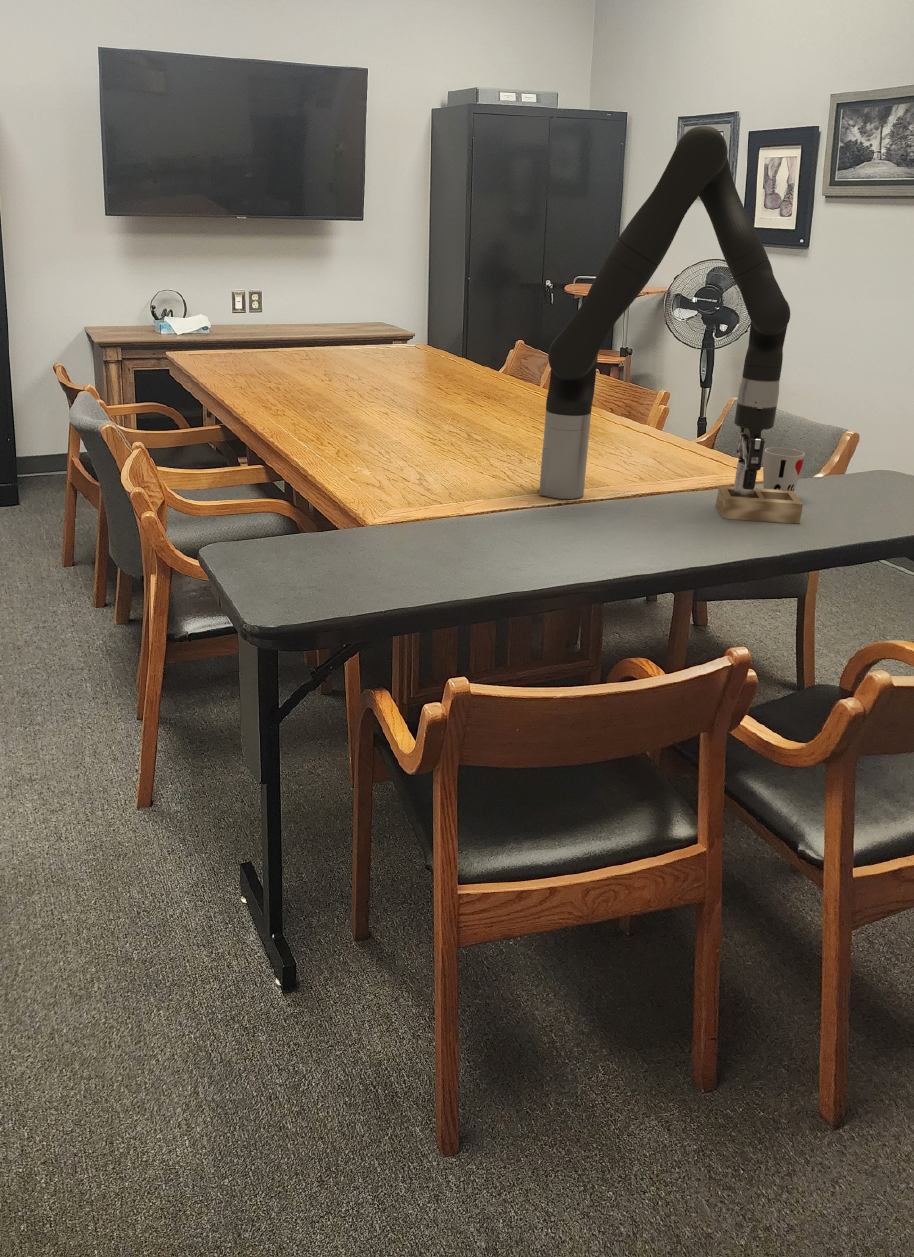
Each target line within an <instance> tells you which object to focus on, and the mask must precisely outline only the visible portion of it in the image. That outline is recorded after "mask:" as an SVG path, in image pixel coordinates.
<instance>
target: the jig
mask: <svg viewBox="0 0 914 1257" xmlns="http://www.w3.org/2000/svg"><path fill="white" fill-rule="evenodd" d="M733 490H734V486H727V485H718V489H717V496H716V505H715V506H716V507H717V510H718V511H719V514H720V516H721V519H724V520H725V519H728V520H740V521H741V520H742V521H755V522H769V523H781V524H782V523H785V524H797V525H799V524H800V523H801V517H802V511H803V505H804V503H803V502H802V501H801V499H800V497H799V496H798V495H797V494H796V492H795V490H794V491H788V490H773V489H764V488H756V487H755V489H754V495H753V498H748V497H733Z"/></svg>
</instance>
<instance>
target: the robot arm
mask: <svg viewBox="0 0 914 1257" xmlns="http://www.w3.org/2000/svg"><path fill="white" fill-rule="evenodd" d="M728 151H729V150H728V145H727V142H726V139H725V138H724V136H723V134H722V133H721V132H720V131H719V130H718V129H717V128H715V127H713V126H708V125H698V126H695V127H692V128H690V129H688V130H687V131H686V132H685V133H684V134H683V135H682V136H681V137H680V139H679V140H678V141H677V144H676V147H675V148H674V151H673V153H672V155H671V157H670V159H669V161H668V163H667V165H666V167H665V169H664V170H663V172H662V175H661V177H660V178H659V181H658V182H657V184H656V185H655V187H654V189H653V191H652V192H651V193H650V195H649V196H648V198H647V199H646V200H645V201H644V203H643V204H642V205H641V206H640V208H639V209H638V210H637V212H635V214H634V216H633V217H632V218H631V219H630V221H629V222H628V224H627V225H626V227H625V228H624V229H623V231H621V234H620V236H618V238H617V239H616V242H615V243H614V245H613V246H612V248H611V249H610V251H609V253H608V254H607V256H606V257H605V259H604V261H603V263H602V265H601V267H600V268H599V270H598V271H597V274H596V276H595V278H594V279H593V282H592V284H591V285H590V288H589V290H588V292H587V294H586V296H585V298H584V300H583V302H582V303H581V305H580V307H579V308H578V310H576V313H575V314H574V315H573V316H572V318H571V319H570V321H569V322H567V324H566V325H565V327H564V328H563V329H562V331H561V332H560V333H559V334H558V336H556V337H555V339H554V340H553V341H552V343H551V344H550V347H549V349H548V356H547V357H548V364H549V367H550V376H549V377H550V378H549V384H548V390H547V396H546V400H545V401H546V403H545V417H544V431H543V443H542V453H541V454H542V455H541V466H540V477H539V478H540V479H539V480H540V481H539V493H538V496H543V497H548V498H553V499H561V500H572V499H574V500H575V499H579V498H582V497H583V496H584V492H585V486H586V485H585V484H586V483H585V482H586V472H587V461H588V449H589V440H590V428H591V418H592V417H591V416H592V409H593V408H592V407H593V401H594V396H595V389H596V377H597V370H598V369H597V368H598V356H599V352H600V350H601V348H602V346H603V343H604V342H605V341H606V339H607V337H608V335H609V333H610V331H611V330H612V328H613V326H615V324H616V322H617V321H618V320H619V319H620V317H621V316H622V315H623V314H624V313H625V311H627V309H628V308H630V306H631V304H633V302H634V301H636V299H637V297H638V296H639V295H640V293H641V292H642V291H643V290H644V289H645V287H646V285H647V284H648V282H649V281H650V280H651V279H652V277H653V275H654V274H655V272H656V270H657V269H658V268H659V266H660V264H661V263H662V262H663V260H664V257H665V256H666V254H667V252H668V250H669V249H670V246H671V245H672V243H673V241H674V238H675V236H676V234H677V232H678V231H679V228H680V226H681V224H682V222H683V219H685V216H686V215H687V212H688V211H689V209H690V208H691V207H692V205H693V204H694V203H695V201H696V200H697V199H698V198H699V199H700V201H701V202H702V204H703V206H704V208H705V211H706V213H707V215H708V217H709V219H710V222H711V225H712V227H713V231H714V233H715V236H716V239H717V242H718V245H719V248H720V250H721V253H722V255H723V256H722V257H723V259H724V260H725V263H726V264H727V267H728V269H729V272H730V275H731V277H732V278H733V281H734V283H735V285H736V286H737V288H738V289H739V292H740V294H741V297H742V301H743V304H744V307H745V308H746V311H747V314H748V316H749V319H750V325H749V328H750V329H749V337H748V346H747V350H746V353H745V357H744V363H743V370H742V378H741V381H740V384H739V388H738V394H737V402H736V406H735V413H734V414H735V415H734V422H733V423H734V424H735V425H736V426H737V427H740V428H739V430H740V432H739V437H738V444H737V449H736V453H737V454H736V455H737V459H738V461H737V464H738V463H739V462H745V472H744V479H743V485H742V487H743V488H744V489H749V490H753V489H754V487H755V486H756V482H755V480H756V481H757V476H756V474H757V475H758V471H760V470H761V469H762V461H763V453H764V448H765V443H766V441H765V439H764V438H763V437H762V432H763V431H764V430H770V429H772V428H774V426H775V421H776V420H775V419H776V413H777V408H778V402H779V395H780V380H781V373H782V369H783V368H782V367H783V356H784V352H783V350H784V349H783V348H784V344H785V340H786V335H787V329H788V324H789V322H790V319H791V309H790V308H791V307H790V305H789V302H788V301H787V299H786V298H785V296H784V293H783V292H782V290H781V288H780V285H779V284H778V282H777V280H776V278H775V275H774V272H773V268H772V264H771V262H770V259H769V256H768V253H767V251H766V249H765V247H764V245H763V243H762V240H761V238H760V236H759V233H758V231H757V230H756V227H755V226H754V224H753V222H752V219H751V218H750V217H749V214H748V212H747V211H746V208H745V207H744V204H743V203H742V199H741V198H740V195H739V193H738V190H737V187H736V185H735V182H734V178H733V175H732V170H731V166H730V162H729V158H728V153H729V152H728ZM752 461H755V462H752ZM755 488H756V487H755Z"/></svg>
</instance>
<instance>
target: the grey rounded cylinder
mask: <svg viewBox="0 0 914 1257" xmlns="http://www.w3.org/2000/svg"><path fill="white" fill-rule="evenodd" d="M744 472H745V462H739V463H738V462H737V467H736V471H735V478H734V484H733V487H734V490H733V497H748V498H753V495H754V489H755V488H756V487H754V489H753V490H749V489H744V488H743V487H742V485H743V479H744ZM757 475H758V473H757V474H756V477H757ZM756 481H757V479H756V480H755V483H757V482H756Z"/></svg>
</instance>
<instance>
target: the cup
mask: <svg viewBox="0 0 914 1257" xmlns="http://www.w3.org/2000/svg"><path fill="white" fill-rule="evenodd" d="M805 456H806V453H805V452H804V451H801V450H799V449H798V450H797V449H794V448H788V447H767V448H765V449H764V457H763V468H762V475H763V476H762V477H763V478H762V480H763V481H762V482H763V484H762V485H763V489H773V490H788V491H794V492H795V489H796V487H797V484H798V481H799V479H800V475H801V473H802V467H803V464H804V459H805Z"/></svg>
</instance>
